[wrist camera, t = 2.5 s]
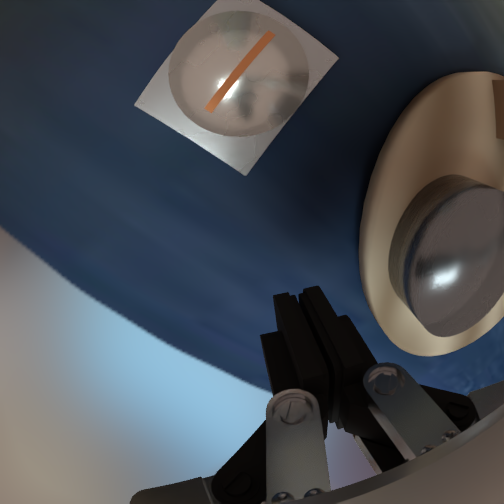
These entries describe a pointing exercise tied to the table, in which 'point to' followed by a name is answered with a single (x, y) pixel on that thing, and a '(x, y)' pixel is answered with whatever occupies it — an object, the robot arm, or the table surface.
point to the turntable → (417, 177)
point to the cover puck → (450, 254)
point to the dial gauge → (236, 80)
